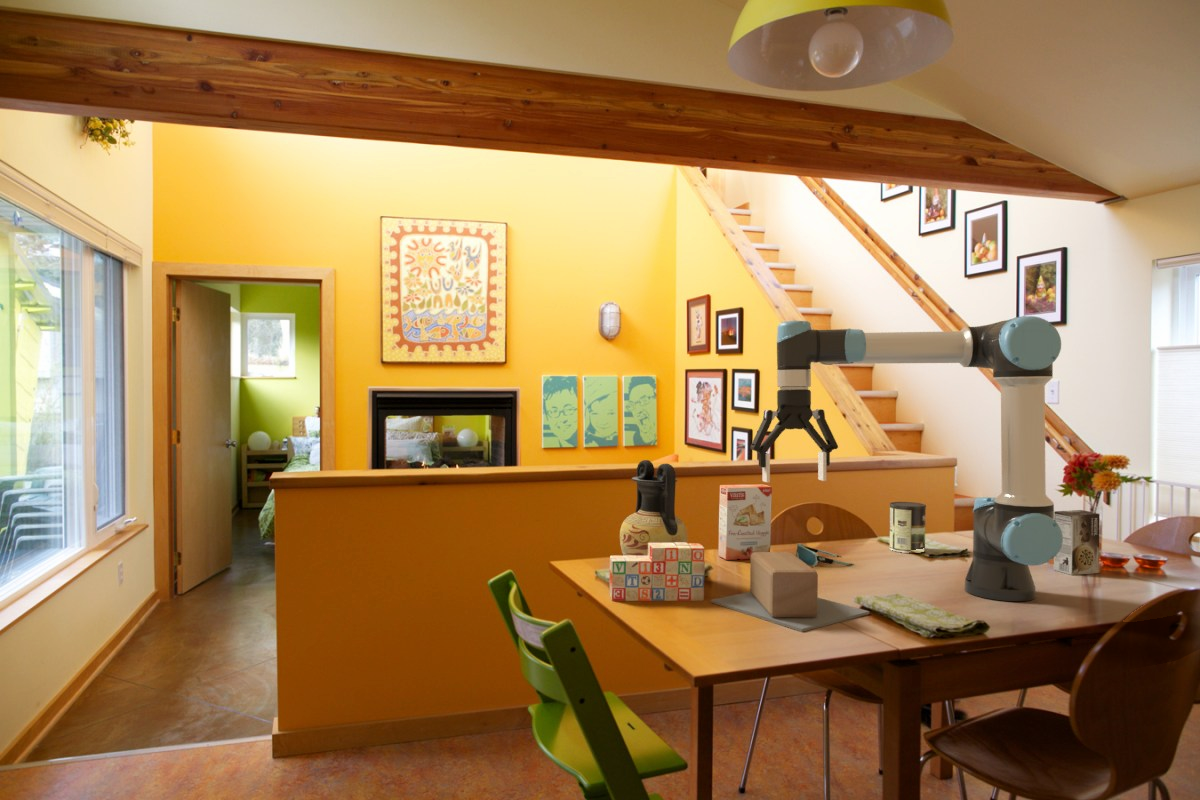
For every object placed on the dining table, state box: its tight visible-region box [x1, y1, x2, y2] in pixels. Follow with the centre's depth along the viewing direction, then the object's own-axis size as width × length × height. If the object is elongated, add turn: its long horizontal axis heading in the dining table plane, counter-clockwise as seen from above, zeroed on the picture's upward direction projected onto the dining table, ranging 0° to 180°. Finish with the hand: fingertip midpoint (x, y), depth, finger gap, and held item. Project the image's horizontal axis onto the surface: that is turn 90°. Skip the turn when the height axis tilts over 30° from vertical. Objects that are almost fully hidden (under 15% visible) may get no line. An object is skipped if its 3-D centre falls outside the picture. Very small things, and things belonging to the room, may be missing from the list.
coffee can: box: [888, 501, 927, 554], centre depth 237 cm, size 10×10×14 cm
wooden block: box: [749, 551, 819, 618], centre depth 173 cm, size 10×10×20 cm
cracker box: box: [717, 483, 773, 561], centre depth 225 cm, size 14×6×21 cm, turn 105°
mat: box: [710, 591, 870, 633], centre depth 173 cm, size 26×22×1 cm
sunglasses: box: [795, 543, 855, 567], centre depth 222 cm, size 14×15×5 cm
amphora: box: [619, 459, 688, 556], centre depth 197 cm, size 18×17×30 cm
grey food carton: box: [1053, 509, 1100, 576], centre depth 211 cm, size 9×6×16 cm
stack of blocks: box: [609, 542, 706, 602], centre depth 182 cm, size 21×6×12 cm, turn 94°
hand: (794, 481), depth 180 cm, fingers open, 13 cm apart
